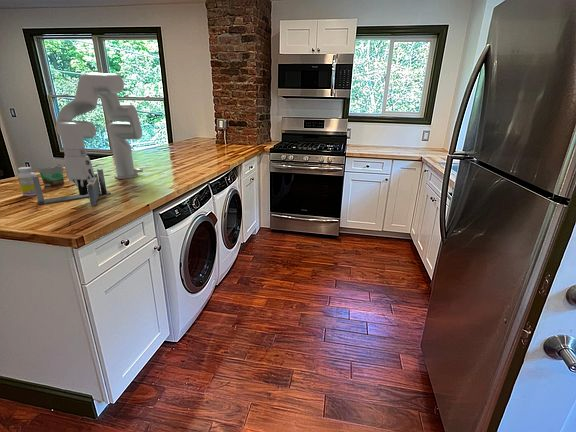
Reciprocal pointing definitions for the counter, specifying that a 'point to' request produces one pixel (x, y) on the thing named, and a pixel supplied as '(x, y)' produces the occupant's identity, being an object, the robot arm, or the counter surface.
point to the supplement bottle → (26, 181)
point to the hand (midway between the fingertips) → (84, 194)
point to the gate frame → (67, 198)
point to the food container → (52, 176)
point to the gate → (93, 190)
